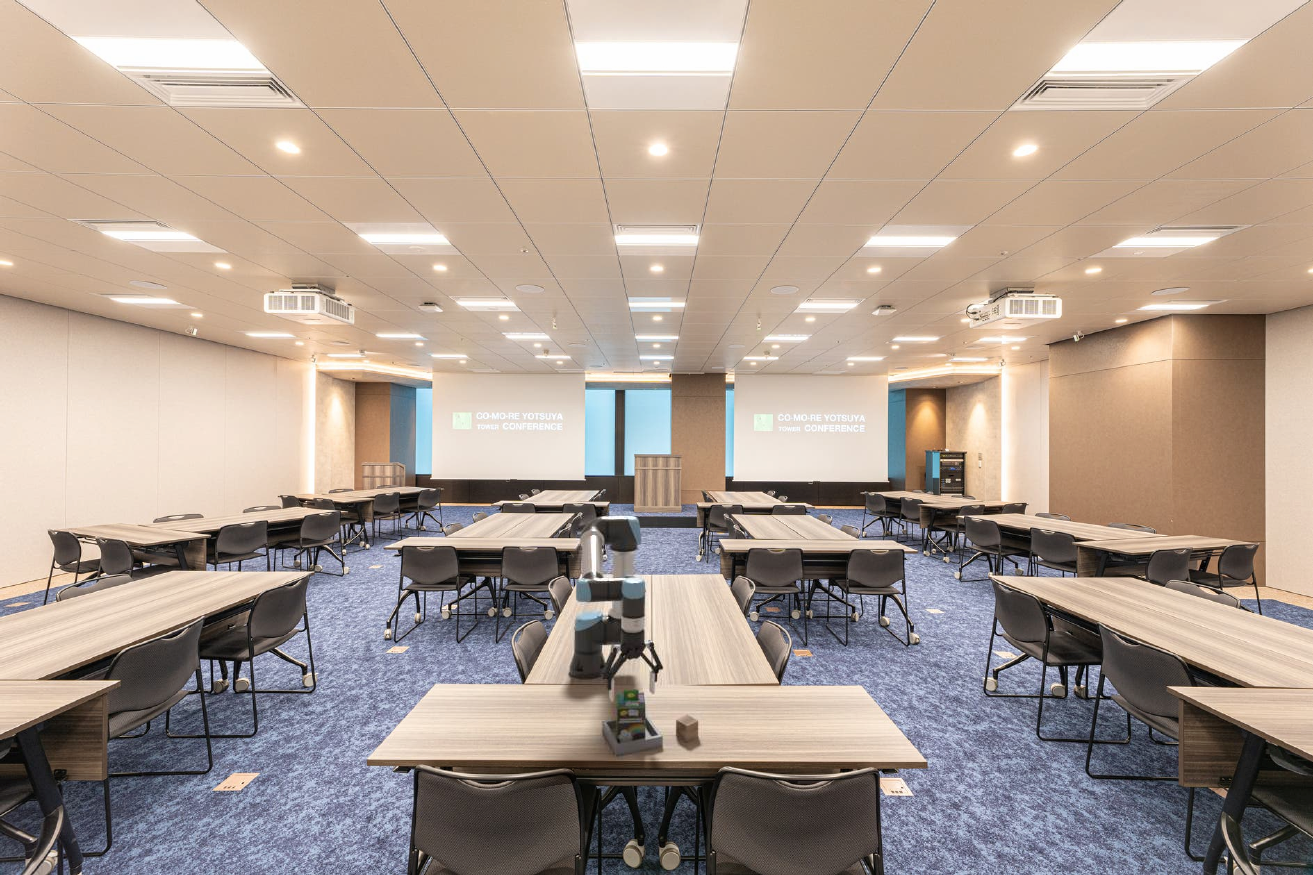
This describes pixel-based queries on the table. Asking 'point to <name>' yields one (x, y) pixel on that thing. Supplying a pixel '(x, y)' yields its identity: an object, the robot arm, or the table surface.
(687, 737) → the walnut block
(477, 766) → the table surface
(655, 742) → the tray
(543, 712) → the table surface
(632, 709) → the chalk box
